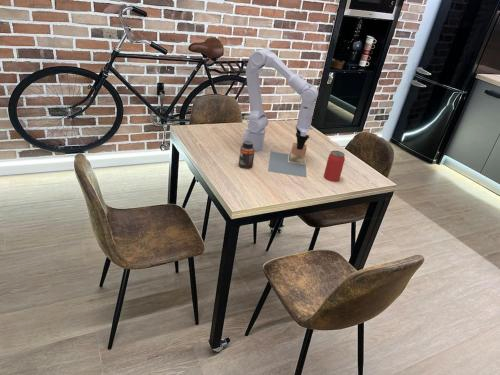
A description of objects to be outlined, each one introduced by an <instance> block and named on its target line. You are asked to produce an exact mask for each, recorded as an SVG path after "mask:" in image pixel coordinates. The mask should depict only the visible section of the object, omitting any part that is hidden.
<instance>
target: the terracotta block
mask: <svg viewBox="0 0 500 375" xmlns="http://www.w3.org/2000/svg"><path fill="white" fill-rule="evenodd" d="M307 146H308V145H307V144H306V143H305V144H304V146H303V149H302V150H299V149H297V142H292V146H291V150H292V151H291V150H290V154H292V155H299V156H305V157H306V153H307V150H308V147H307Z"/></svg>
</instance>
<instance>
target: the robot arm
mask: <svg viewBox="0 0 500 375" xmlns="http://www.w3.org/2000/svg"><path fill="white" fill-rule="evenodd" d="M264 67H265V68H273V69H274V70H275V71H277V72H278V73H279V74H280V75H281V76H282V77H283V78H285V79H286V80H287V84H288V86H289V87H290V88H291V89H293V90H294V92H296V93H297V94H298V95H299V96H300V99H301V102H300V103H301V104H300V106H299V107H300V108H299V112H298V117H297V122H296V124H295V125H296V126H295V129H296V130H295V131H296V132H295V136H296V143H297V149H299V150H302V149H303V146H304V144H305V145H306V142H307V141H308V139H309V138H310V135H308V134H307V133H308V132H309V131H311V130H314V129H313V128H314V127H313V126H312V119H313V116H314V110H315V104H316V100H317V98H318V97H319V90H318V89H317V87H316V86H315V85H312V84H311V83H309V82H308V81H307V80H305V79H304V75H302V74H299V73H294V72H292V70H290V68H288V66H287V65H286V64H285V63H284V62H283V61H282V60H281V59H280V58H279V57H278V56H277V55H276V53H275V52H274V51H272V50H271V49H270V48H268V47H263V48H261V49H256V50H254V51H253V52H251V53H250V55H249V56H248V62H247V65H246V67H245V76H246V85H247V94H248V99H249V100H248V102H249V109H250V112H249V116H248V123H247V129H245V130H244V132H243V138H242V142H241V143H242V145H241V146H243V142H244V141H246V140H248V141H252V142H253V147H254V148H255V152H261V151H263V148H264V140H265V134H266V130H265V128H266V127H268V125H269V119H268V117H267V116H266V112H265V110H264V109H263V100H262V94H261V92H262V91H261V84H260V83H261V81H260V75H259V74H260V73H259V72H260V71H261V70H262V69H263V68H264Z"/></svg>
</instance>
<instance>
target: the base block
mask: <svg viewBox="0 0 500 375" xmlns="http://www.w3.org/2000/svg"><path fill="white" fill-rule="evenodd" d="M291 151H292V149H291V150H290V152H291ZM289 154H290V162H297V163H303V164H304V159H305V160H306V155H305V156H299V155H292V154H291V153H289Z"/></svg>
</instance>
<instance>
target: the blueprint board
mask: <svg viewBox="0 0 500 375" xmlns="http://www.w3.org/2000/svg"><path fill="white" fill-rule="evenodd" d="M290 154H291V153H285V152H284V153H283V152H277V151H270V153H269V161H268V167H267V168H268V169H267V172H270V173H278V174H283V175H291V176H296V177H302V178H308V176H307V164H306V163H307V162H306V158H305V159H304V164H303V163H297V162H290Z"/></svg>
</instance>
